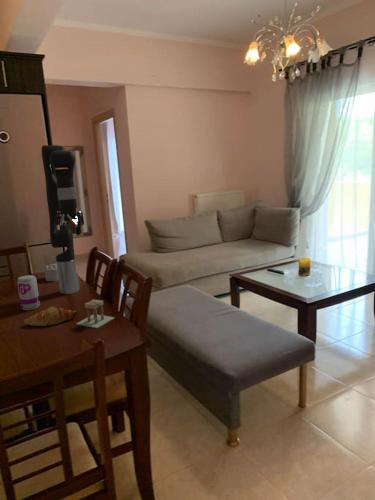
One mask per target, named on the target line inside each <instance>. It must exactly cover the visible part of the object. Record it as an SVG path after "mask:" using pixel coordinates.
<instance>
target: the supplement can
mask: <svg viewBox="0 0 375 500" xmlns="http://www.w3.org/2000/svg"><path fill="white" fill-rule="evenodd" d="M37 280H38V279H37V277H36V276H35V275H34V274H33V275H32V274H28V275H27V274H26V275H22V276H19V277H18V278H17V282H16V283H17V290H18V296H19V302H20V309H22V310H23V311H32V310H36V309H38V308H39V307H40V306H41V302H40V295H39V289H38V287H39V286H38V281H37Z"/></svg>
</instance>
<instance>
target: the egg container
mask: <svg viewBox="0 0 375 500" xmlns="http://www.w3.org/2000/svg"><path fill="white" fill-rule="evenodd" d="M43 270H44V276H45V281H46V282H50V281H54V282H59V281H58V280H59V278H58V270H57V262H56V263H49V264H47V265H45V266H44V269H43Z"/></svg>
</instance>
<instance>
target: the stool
mask: <svg viewBox="0 0 375 500" xmlns="http://www.w3.org/2000/svg"><path fill="white" fill-rule="evenodd" d="M84 306H85V308H86V316H87V317H86V318H88V322H91V318H90V316H91V312H90V311H91V309H92V311H93V313H92V314H94V319H95V323H98V318H97V315H98V311H97V310H98V308H99V312H100V313H99V315H101V320H104V316H105V314H104V300H101V299H91V300H90V301H87V302H85V303H84Z"/></svg>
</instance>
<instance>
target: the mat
mask: <svg viewBox="0 0 375 500" xmlns="http://www.w3.org/2000/svg"><path fill="white" fill-rule="evenodd" d="M90 318H91V322H88V318H87V317H85V318H84V319H82V320H80V321H79V322H76V323H75V325H77V326H83V327H87V328H93V329H98V328H101V327H102V326H104V325H106V324H107V323H109V322H111V321H113V320H114V319H115V317H114V316H108V315H104V320H101V314H97V318H98V323H95V319H94V313H92V314H90Z"/></svg>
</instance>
